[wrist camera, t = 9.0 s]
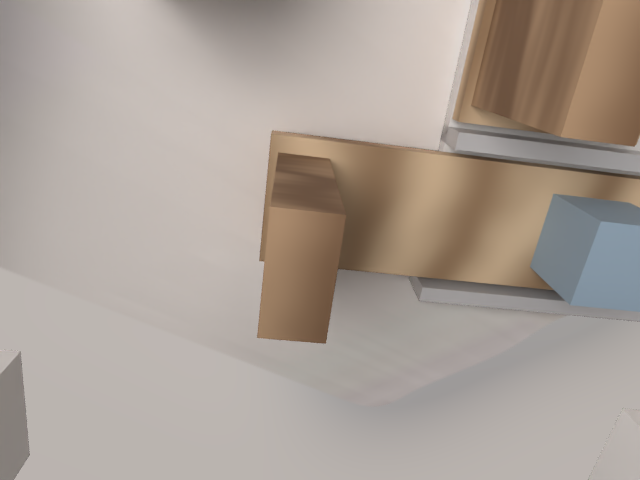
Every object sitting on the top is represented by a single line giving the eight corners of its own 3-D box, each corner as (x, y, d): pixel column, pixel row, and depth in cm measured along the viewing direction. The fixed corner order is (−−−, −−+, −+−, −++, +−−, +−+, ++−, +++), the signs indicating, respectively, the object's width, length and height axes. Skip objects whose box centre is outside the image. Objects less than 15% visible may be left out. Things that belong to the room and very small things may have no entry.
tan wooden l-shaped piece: (260, 253, 32) (243, 356, 21) (272, 130, 29) (258, 180, 18) (604, 287, 34) (740, 395, 24) (647, 177, 31) (825, 244, 21)
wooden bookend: (452, 118, 29) (540, 161, 19) (486, -33, 26) (614, -82, 16) (623, 141, 30) (797, 193, 20) (675, -2, 27) (912, -29, 17)
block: (529, 266, 32) (570, 305, 27) (553, 193, 30) (601, 221, 25) (601, 274, 32) (653, 313, 27) (629, 202, 30) (689, 231, 26)
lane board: (409, 280, 34) (419, 300, 32) (485, -60, 27) (507, -72, 24) (717, 310, 37) (752, 332, 34) (870, 5, 29) (932, 1, 26)
